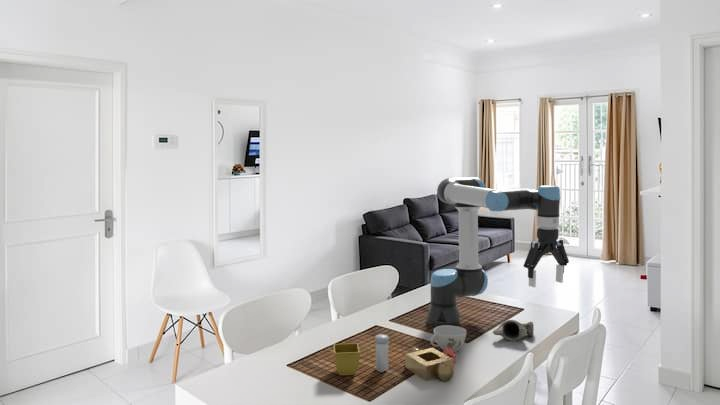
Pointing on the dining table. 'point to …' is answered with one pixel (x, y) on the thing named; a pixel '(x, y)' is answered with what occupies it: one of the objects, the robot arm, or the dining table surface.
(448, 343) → the teacup
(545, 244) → the robot arm
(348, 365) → the flower pot
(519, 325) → the grey hollow piece
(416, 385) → the dining table surface
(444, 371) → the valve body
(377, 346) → the white capped shaker
